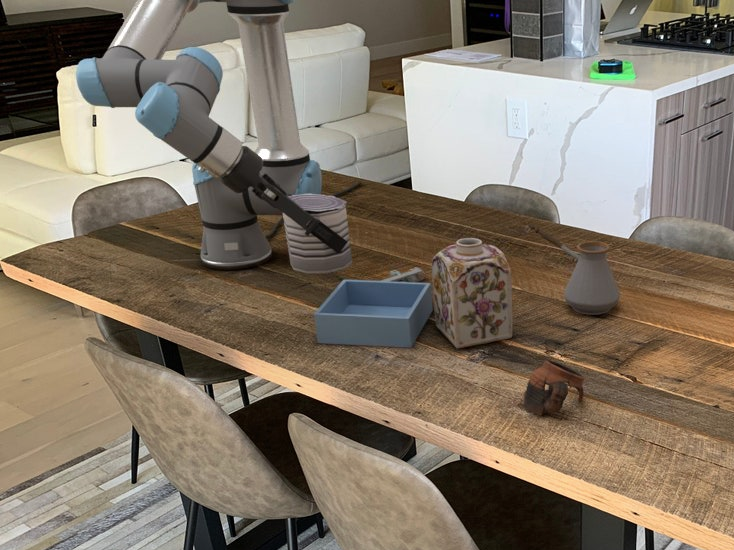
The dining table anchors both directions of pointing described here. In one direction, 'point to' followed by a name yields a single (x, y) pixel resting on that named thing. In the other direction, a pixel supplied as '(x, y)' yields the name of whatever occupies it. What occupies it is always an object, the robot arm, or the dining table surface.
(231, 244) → the robot arm
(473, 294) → the decorative jar
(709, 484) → the dining table surface
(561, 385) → the pottery mug
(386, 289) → the tote
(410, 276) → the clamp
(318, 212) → the can
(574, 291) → the coffee pot
